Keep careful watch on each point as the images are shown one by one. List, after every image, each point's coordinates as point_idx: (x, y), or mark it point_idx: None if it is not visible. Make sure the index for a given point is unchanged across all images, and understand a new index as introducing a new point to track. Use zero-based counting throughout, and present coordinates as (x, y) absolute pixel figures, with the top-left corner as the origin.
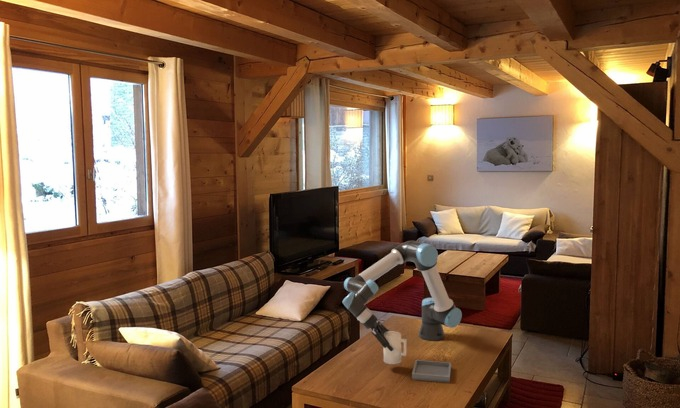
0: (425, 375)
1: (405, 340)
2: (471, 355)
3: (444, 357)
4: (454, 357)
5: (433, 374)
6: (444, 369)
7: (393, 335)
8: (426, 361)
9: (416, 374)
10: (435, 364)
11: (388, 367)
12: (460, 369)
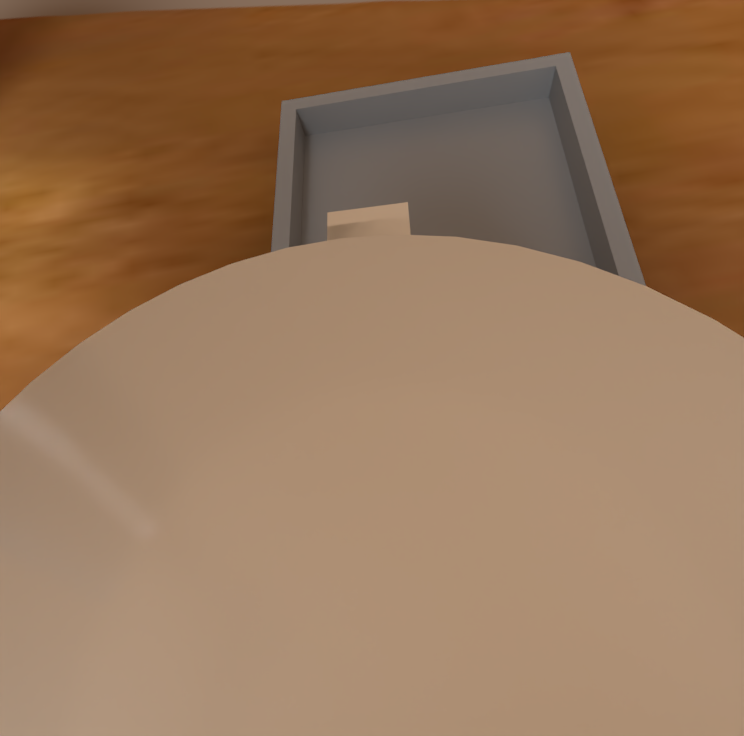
0: (615, 203)
1: (408, 227)
2: (71, 94)
3: (101, 212)
4: (101, 161)
5: (483, 192)
6: (358, 149)
7: (625, 640)
8: None
9: (638, 273)
10: (299, 204)
11: None
12: (297, 98)
